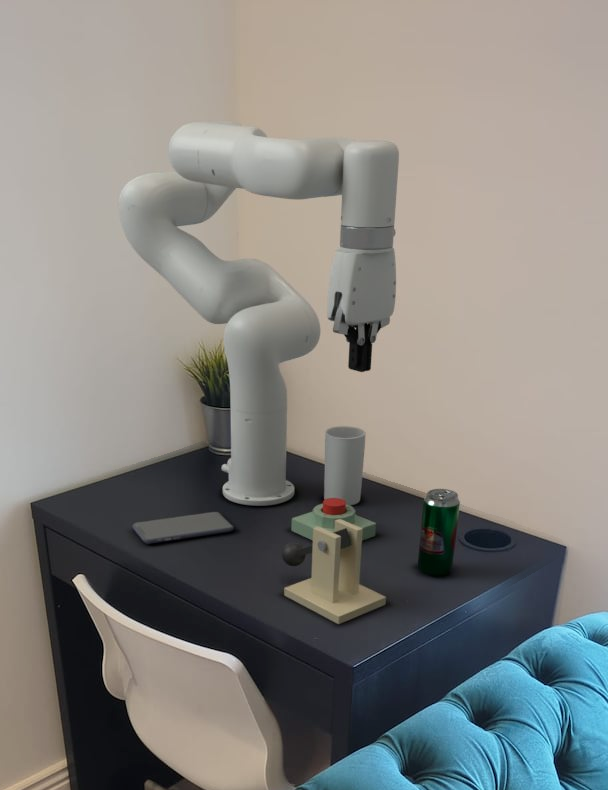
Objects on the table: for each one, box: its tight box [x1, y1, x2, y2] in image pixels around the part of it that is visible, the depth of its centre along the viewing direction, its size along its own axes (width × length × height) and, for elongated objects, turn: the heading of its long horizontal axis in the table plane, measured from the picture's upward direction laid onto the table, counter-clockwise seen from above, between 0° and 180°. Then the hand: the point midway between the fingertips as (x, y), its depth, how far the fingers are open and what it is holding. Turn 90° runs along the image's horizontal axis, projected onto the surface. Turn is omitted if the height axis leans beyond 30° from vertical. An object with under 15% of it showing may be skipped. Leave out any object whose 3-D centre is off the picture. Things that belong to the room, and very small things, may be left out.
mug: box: [323, 425, 367, 506], centre depth 166 cm, size 10×7×12 cm, turn 13°
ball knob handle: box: [281, 528, 352, 567], centre depth 135 cm, size 13×3×3 cm
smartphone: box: [131, 511, 234, 545], centre depth 156 cm, size 8×1×15 cm
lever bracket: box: [283, 519, 387, 625], centre depth 132 cm, size 11×9×11 cm
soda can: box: [417, 488, 461, 578], centre depth 140 cm, size 5×5×12 cm
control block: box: [291, 503, 377, 542], centre depth 154 cm, size 10×9×4 cm
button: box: [322, 498, 346, 515], centre depth 153 cm, size 4×4×2 cm
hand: (359, 369), depth 146 cm, fingers closed
